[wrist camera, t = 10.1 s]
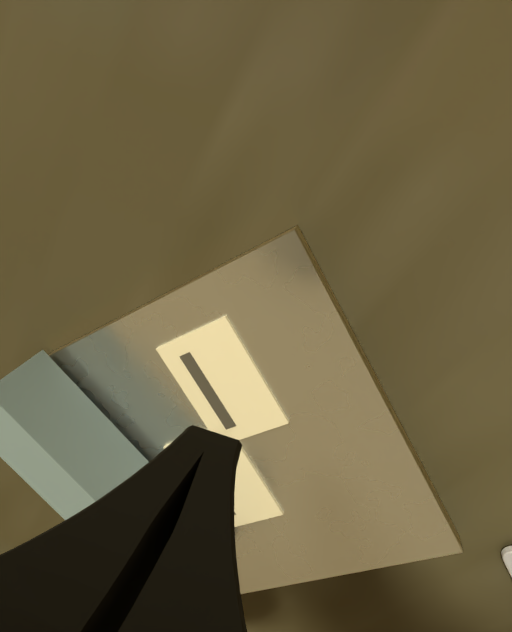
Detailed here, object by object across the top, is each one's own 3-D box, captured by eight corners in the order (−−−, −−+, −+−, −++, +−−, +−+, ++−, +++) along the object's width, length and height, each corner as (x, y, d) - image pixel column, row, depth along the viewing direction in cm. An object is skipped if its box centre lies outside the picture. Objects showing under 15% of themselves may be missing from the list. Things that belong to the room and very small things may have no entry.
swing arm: (262, 566, 25) (242, 650, 21) (210, 586, 27) (182, 668, 23) (52, 341, 22) (-18, 390, 18) (8, 379, 24) (-65, 432, 20)
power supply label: (289, 420, 22) (288, 423, 22) (220, 444, 23) (219, 447, 23) (226, 315, 20) (225, 317, 20) (157, 347, 22) (155, 349, 22)
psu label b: (283, 511, 24) (282, 515, 24) (221, 527, 26) (220, 531, 25) (226, 423, 23) (225, 426, 22) (164, 445, 24) (162, 448, 24)
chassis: (459, 535, 23) (481, 634, 19) (220, 584, 29) (194, 668, 25) (297, 224, 19) (276, 256, 15) (52, 351, 25) (-18, 402, 20)
